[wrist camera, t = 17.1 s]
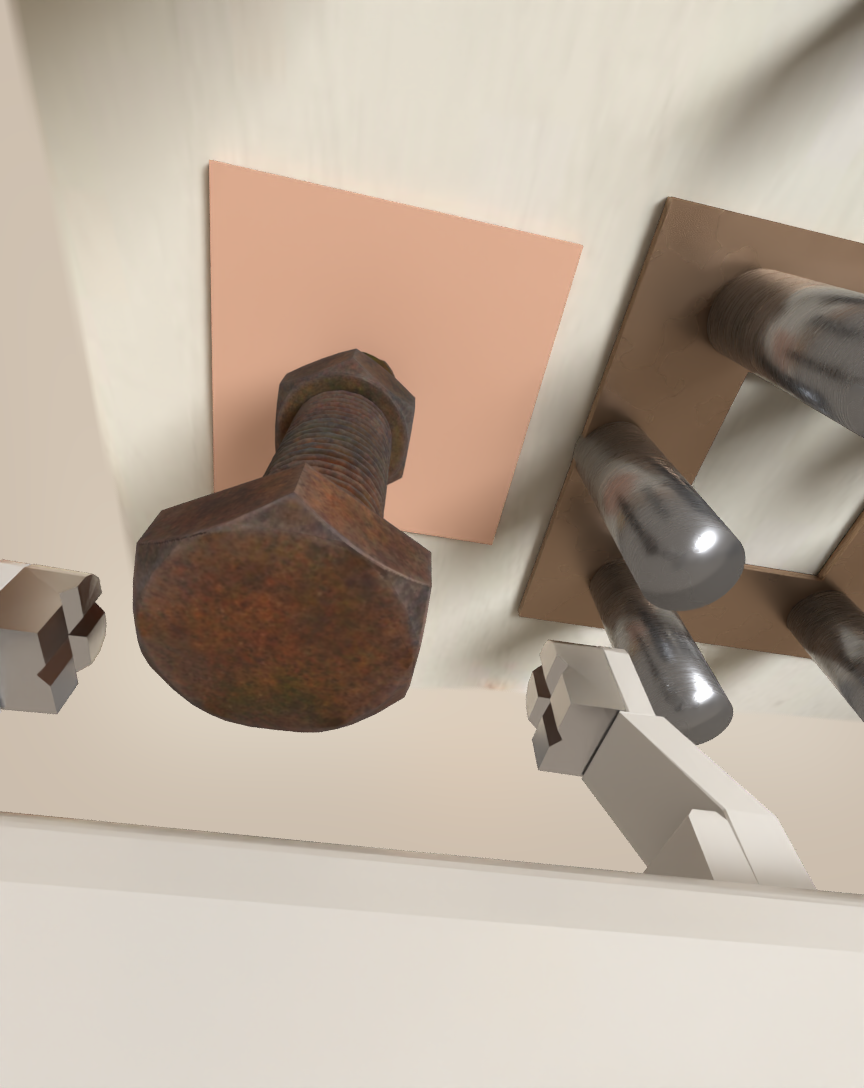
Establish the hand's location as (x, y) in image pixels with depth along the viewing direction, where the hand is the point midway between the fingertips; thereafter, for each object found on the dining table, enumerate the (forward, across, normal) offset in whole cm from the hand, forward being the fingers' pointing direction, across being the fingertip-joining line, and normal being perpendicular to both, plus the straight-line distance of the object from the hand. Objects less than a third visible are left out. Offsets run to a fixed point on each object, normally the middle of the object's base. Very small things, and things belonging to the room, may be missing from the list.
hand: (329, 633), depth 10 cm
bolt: (+15, +1, 0) cm, 15 cm away
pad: (+15, 0, 0) cm, 15 cm away
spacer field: (+15, -19, +1) cm, 24 cm away
